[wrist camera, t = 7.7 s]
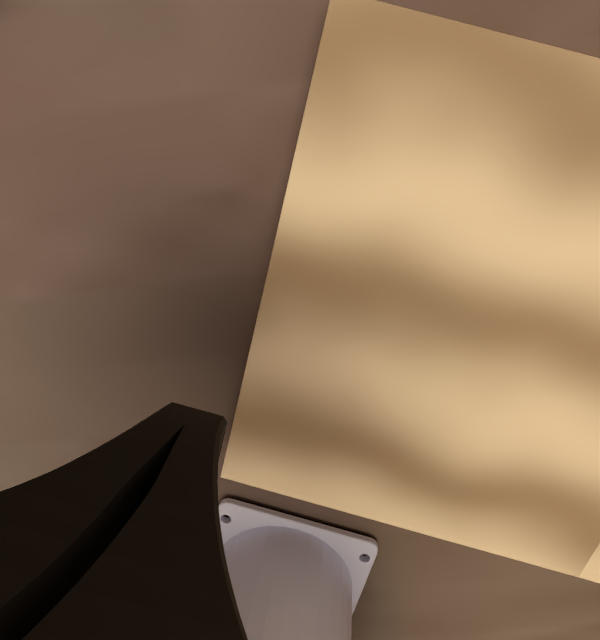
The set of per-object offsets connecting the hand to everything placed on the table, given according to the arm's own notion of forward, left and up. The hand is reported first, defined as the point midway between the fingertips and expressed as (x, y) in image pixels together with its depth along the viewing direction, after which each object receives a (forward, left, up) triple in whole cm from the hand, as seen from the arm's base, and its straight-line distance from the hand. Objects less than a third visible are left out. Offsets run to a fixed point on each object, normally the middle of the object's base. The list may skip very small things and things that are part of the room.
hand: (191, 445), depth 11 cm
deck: (+2, -13, -10) cm, 16 cm away
